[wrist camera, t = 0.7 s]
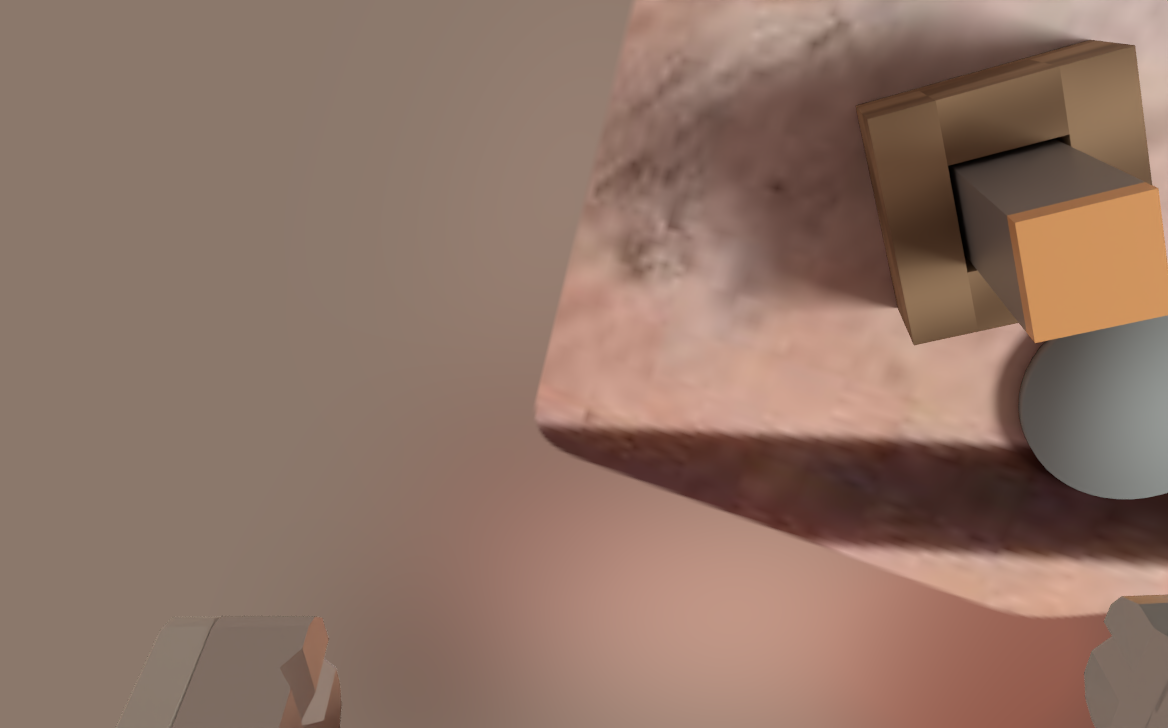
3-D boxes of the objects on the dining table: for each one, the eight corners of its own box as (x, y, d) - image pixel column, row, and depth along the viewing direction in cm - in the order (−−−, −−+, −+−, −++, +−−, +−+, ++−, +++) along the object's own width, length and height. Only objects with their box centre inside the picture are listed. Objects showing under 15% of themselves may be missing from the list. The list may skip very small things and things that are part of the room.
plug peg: (937, 153, 48) (1014, 222, 33) (1033, 128, 47) (1158, 188, 32) (953, 240, 49) (1035, 343, 34) (1047, 217, 48) (1173, 314, 33)
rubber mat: (1068, 275, 50) (1074, 280, 49) (1284, 331, 49) (1294, 338, 48) (987, 458, 54) (991, 466, 53) (1185, 513, 53) (1192, 522, 52)
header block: (855, 105, 49) (867, 119, 43) (1090, 39, 46) (1134, 45, 40) (898, 308, 52) (913, 345, 46) (1119, 258, 49) (1165, 291, 44)
